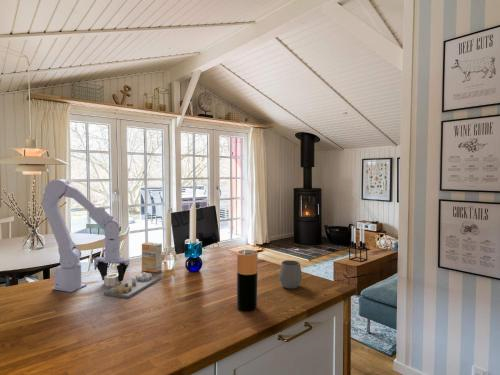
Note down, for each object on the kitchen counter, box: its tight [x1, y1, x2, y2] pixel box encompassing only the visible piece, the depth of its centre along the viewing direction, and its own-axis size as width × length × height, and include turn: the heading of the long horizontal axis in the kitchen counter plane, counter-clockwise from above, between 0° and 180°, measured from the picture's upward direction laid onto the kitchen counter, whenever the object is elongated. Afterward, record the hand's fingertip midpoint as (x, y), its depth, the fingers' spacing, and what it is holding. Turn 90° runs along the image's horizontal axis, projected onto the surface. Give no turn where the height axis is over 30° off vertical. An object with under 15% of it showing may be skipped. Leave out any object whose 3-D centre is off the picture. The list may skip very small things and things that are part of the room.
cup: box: [278, 259, 303, 290], centre depth 134 cm, size 10×9×10 cm
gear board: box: [103, 271, 162, 299], centre depth 133 cm, size 11×22×4 cm, turn 163°
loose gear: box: [103, 272, 122, 287], centre depth 136 cm, size 5×7×4 cm
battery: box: [236, 249, 259, 312], centre depth 113 cm, size 7×7×20 cm
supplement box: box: [141, 241, 163, 273], centre depth 153 cm, size 8×5×13 cm, turn 73°
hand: (112, 280), depth 136 cm, fingers open, 7 cm apart
